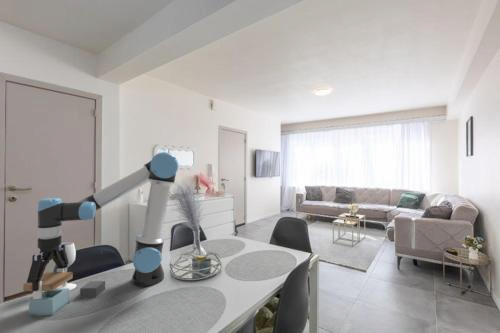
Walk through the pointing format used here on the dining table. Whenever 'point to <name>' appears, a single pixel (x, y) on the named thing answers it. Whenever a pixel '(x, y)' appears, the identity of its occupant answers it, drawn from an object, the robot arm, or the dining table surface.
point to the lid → (51, 281)
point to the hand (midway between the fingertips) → (49, 290)
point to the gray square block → (92, 289)
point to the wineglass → (71, 257)
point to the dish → (49, 302)
